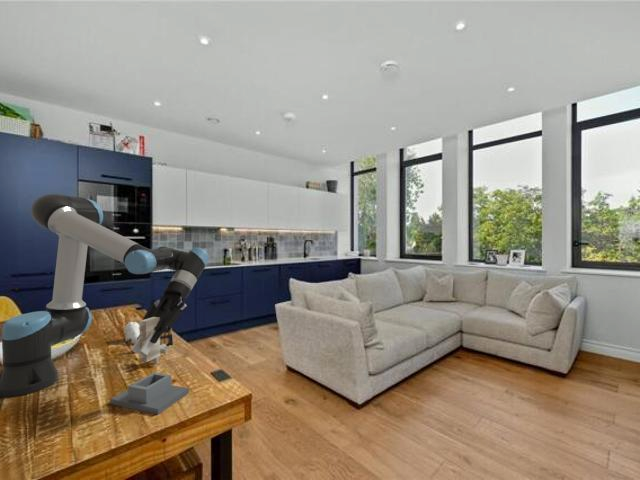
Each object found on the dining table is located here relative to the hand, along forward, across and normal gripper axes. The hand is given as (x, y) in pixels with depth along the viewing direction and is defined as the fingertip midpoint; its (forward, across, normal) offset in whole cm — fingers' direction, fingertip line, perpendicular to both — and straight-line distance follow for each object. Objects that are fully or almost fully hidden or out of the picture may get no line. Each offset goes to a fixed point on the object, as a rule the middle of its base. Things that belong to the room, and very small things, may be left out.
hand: (139, 352), depth 89 cm
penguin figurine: (-17, +49, -40) cm, 66 cm away
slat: (0, 0, -5) cm, 5 cm away
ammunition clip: (-15, +31, -38) cm, 52 cm away
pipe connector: (-6, +20, -28) cm, 35 cm away
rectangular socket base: (+8, 0, -14) cm, 16 cm away
